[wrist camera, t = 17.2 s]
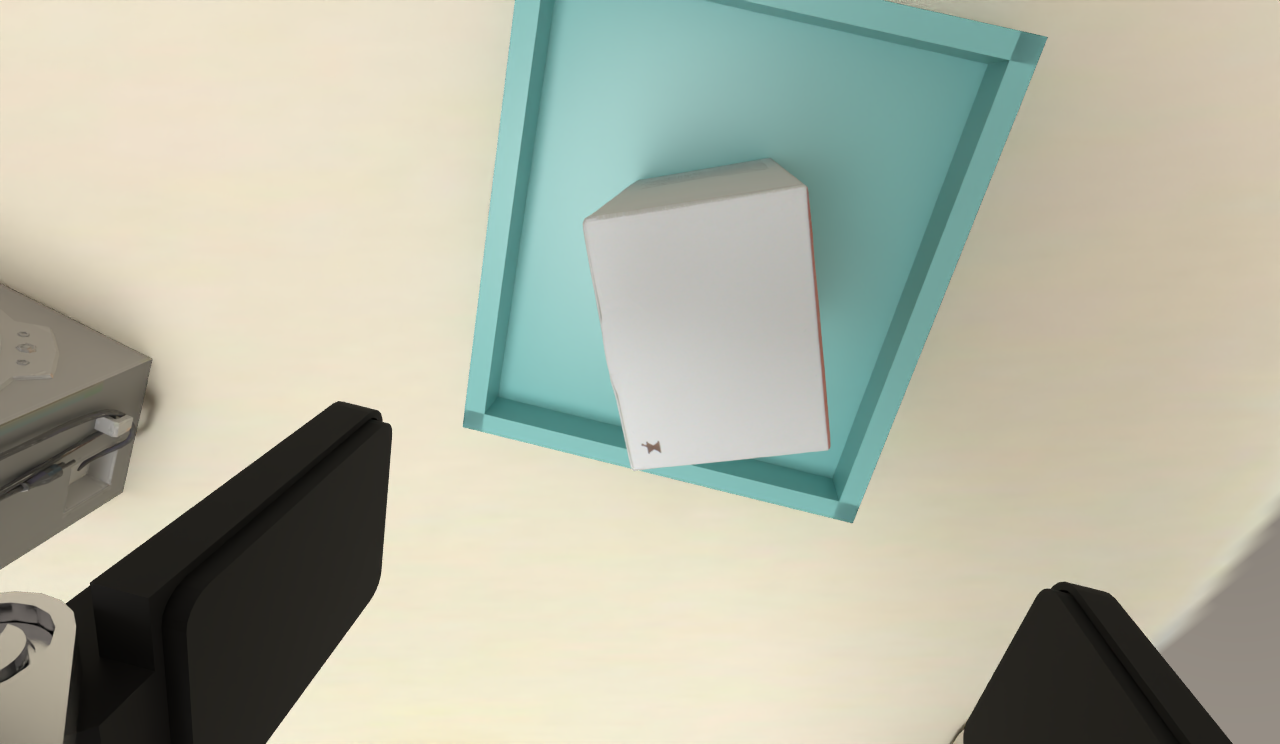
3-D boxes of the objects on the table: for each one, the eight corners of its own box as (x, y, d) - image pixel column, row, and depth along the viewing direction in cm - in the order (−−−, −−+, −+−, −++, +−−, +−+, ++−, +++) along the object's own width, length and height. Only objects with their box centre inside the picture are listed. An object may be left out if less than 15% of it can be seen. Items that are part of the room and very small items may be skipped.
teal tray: (1014, 44, 27) (1047, 37, 25) (842, 491, 36) (852, 523, 33) (544, -61, 28) (525, -80, 25) (482, 402, 36) (462, 426, 33)
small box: (792, 327, 32) (834, 457, 20) (661, 344, 33) (626, 477, 21) (774, 152, 29) (810, 180, 17) (633, 177, 30) (573, 220, 18)
